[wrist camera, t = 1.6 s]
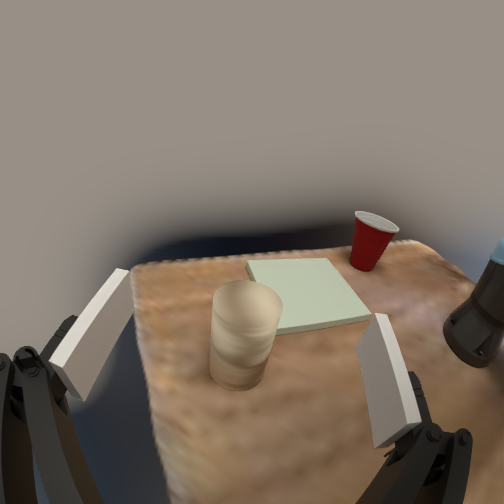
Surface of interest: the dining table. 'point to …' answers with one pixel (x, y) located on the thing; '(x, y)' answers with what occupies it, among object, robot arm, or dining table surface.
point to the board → (309, 293)
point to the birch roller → (242, 333)
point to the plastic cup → (370, 239)
